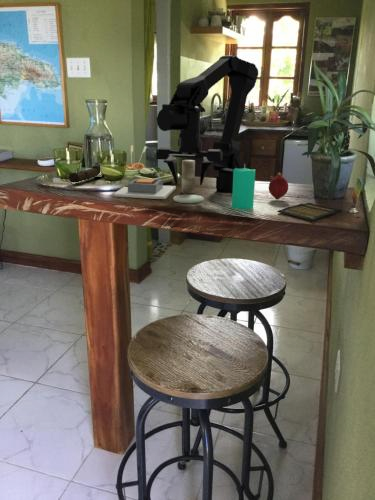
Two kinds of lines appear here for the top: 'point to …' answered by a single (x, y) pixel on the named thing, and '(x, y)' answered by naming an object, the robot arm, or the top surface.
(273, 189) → the onion
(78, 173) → the dark brown elongated bar
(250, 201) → the candle
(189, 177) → the tan cylinder
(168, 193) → the white flat square slab
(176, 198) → the mat
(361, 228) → the top surface
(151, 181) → the button
